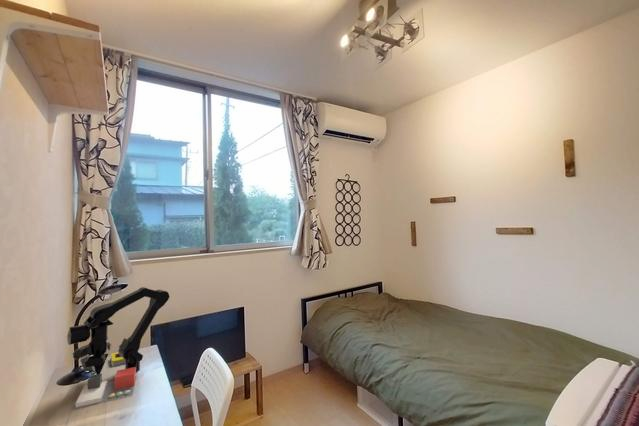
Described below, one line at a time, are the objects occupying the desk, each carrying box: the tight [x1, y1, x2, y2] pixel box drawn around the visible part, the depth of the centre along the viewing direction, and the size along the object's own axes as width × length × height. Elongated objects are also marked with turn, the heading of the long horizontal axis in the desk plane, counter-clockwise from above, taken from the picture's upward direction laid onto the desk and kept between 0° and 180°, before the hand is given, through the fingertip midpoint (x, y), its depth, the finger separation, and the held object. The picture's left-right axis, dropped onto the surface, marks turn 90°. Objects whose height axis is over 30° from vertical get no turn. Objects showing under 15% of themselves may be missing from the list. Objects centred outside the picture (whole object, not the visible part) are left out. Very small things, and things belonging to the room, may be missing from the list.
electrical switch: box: [80, 355, 96, 373], centre depth 139 cm, size 9×5×9 cm, turn 32°
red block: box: [114, 367, 137, 390], centre depth 125 cm, size 7×7×5 cm
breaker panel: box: [70, 378, 137, 411], centre depth 119 cm, size 17×19×3 cm
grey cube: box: [87, 372, 103, 389], centre depth 120 cm, size 4×4×4 cm
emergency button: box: [110, 351, 126, 369], centre depth 150 cm, size 9×4×15 cm
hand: (98, 374), depth 127 cm, fingers closed
